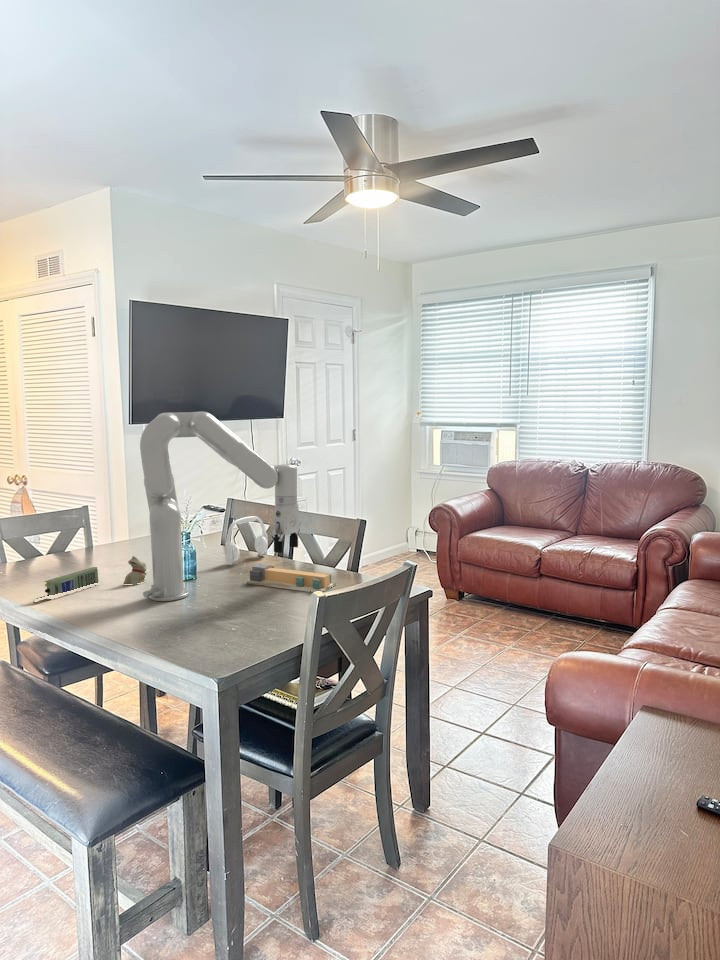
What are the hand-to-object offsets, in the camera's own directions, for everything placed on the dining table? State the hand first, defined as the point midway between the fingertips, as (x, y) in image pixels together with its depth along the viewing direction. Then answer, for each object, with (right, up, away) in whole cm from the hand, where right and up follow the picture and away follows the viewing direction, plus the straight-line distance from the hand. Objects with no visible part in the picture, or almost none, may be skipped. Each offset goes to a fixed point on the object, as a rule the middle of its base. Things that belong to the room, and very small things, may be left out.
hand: (286, 549), depth 228 cm
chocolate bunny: (-54, -13, +6) cm, 56 cm away
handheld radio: (-73, -15, -6) cm, 74 cm away
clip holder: (+1, -12, +1) cm, 12 cm away
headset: (-20, -9, +36) cm, 42 cm away
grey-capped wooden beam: (+1, -11, +1) cm, 11 cm away
